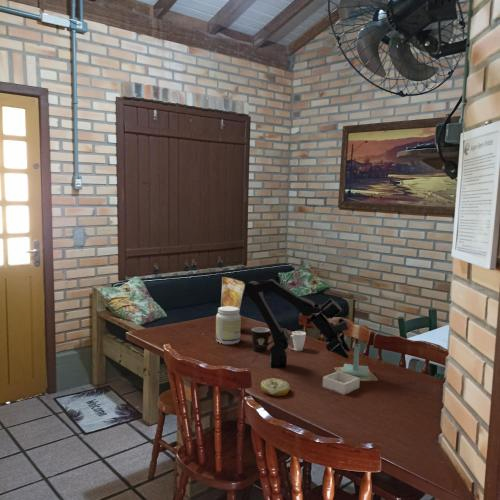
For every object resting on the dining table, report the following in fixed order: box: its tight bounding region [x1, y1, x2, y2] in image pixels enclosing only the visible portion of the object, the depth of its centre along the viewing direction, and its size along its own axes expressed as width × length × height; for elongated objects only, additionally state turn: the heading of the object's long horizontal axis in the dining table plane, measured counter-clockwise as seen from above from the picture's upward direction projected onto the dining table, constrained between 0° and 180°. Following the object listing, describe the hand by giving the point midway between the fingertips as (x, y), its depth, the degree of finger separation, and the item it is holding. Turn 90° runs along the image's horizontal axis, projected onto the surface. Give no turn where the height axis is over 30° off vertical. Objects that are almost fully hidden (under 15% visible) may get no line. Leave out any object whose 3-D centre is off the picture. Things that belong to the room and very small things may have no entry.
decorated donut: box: [260, 377, 291, 397], centre depth 180 cm, size 10×11×4 cm
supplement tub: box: [215, 306, 242, 345], centre depth 240 cm, size 12×12×17 cm
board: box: [334, 366, 379, 382], centre depth 200 cm, size 14×14×1 cm
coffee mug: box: [251, 326, 274, 354], centre depth 227 cm, size 12×9×10 cm
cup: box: [287, 330, 307, 352], centre depth 231 cm, size 7×10×8 cm
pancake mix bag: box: [220, 276, 246, 312], centre depth 262 cm, size 7×19×28 cm, turn 35°
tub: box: [322, 371, 361, 396], centre depth 185 cm, size 10×10×4 cm
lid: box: [342, 343, 369, 378], centre depth 199 cm, size 10×10×12 cm
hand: (348, 354), depth 200 cm, fingers open, 9 cm apart
